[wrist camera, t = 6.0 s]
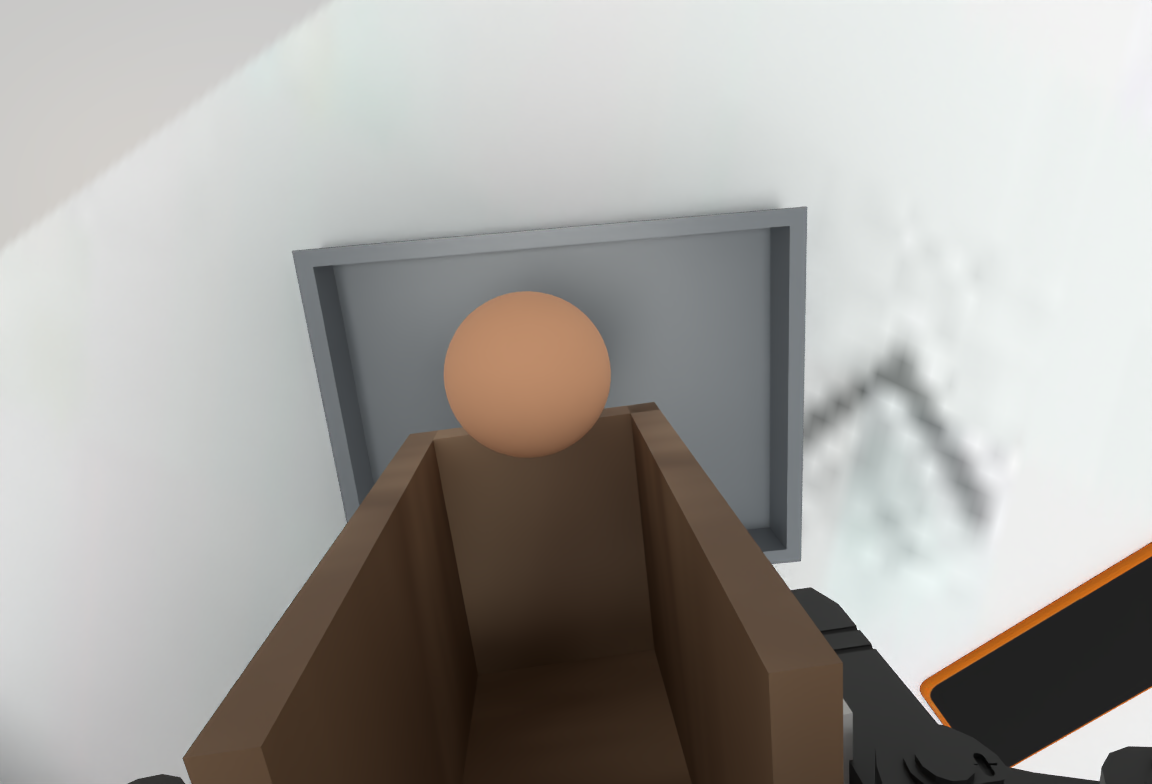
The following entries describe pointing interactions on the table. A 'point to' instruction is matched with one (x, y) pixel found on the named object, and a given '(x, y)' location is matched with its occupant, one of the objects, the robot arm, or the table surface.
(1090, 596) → the smartphone
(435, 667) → the brown wooden bin
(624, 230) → the tray
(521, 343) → the ball
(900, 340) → the table surface
